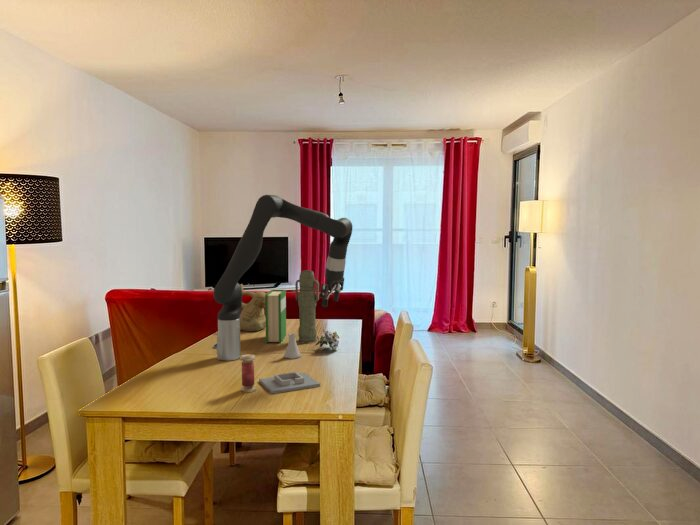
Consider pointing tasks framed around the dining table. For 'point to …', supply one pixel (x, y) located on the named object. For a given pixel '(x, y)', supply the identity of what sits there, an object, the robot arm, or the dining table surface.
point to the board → (288, 382)
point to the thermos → (307, 305)
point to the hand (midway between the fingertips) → (329, 303)
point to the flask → (292, 348)
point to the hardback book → (275, 315)
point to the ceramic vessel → (253, 311)
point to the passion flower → (329, 340)
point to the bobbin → (247, 373)
